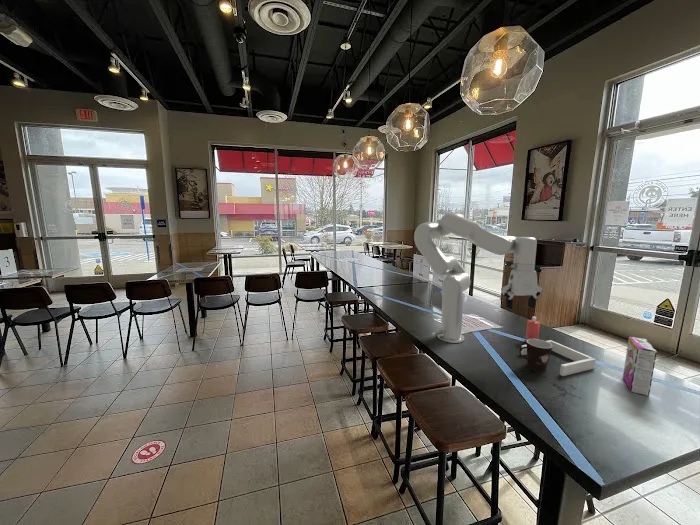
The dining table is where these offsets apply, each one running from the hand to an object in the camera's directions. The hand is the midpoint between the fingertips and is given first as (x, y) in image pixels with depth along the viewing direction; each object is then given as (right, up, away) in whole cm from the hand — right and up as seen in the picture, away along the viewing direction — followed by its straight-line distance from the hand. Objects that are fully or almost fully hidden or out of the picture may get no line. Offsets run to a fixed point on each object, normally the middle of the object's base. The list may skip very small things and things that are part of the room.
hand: (520, 307), depth 121 cm
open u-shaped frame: (+15, -22, 0) cm, 27 cm away
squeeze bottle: (+16, -19, +18) cm, 30 cm away
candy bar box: (+30, -25, -18) cm, 43 cm away
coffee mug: (+2, -23, -4) cm, 24 cm away
